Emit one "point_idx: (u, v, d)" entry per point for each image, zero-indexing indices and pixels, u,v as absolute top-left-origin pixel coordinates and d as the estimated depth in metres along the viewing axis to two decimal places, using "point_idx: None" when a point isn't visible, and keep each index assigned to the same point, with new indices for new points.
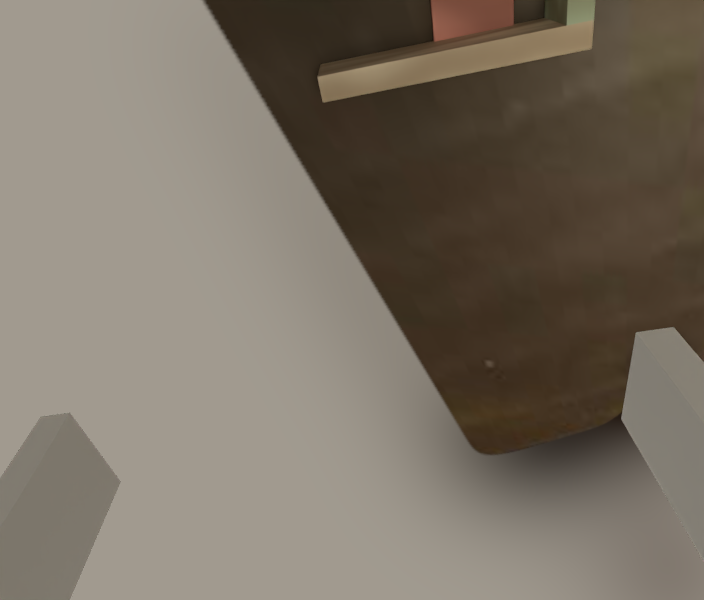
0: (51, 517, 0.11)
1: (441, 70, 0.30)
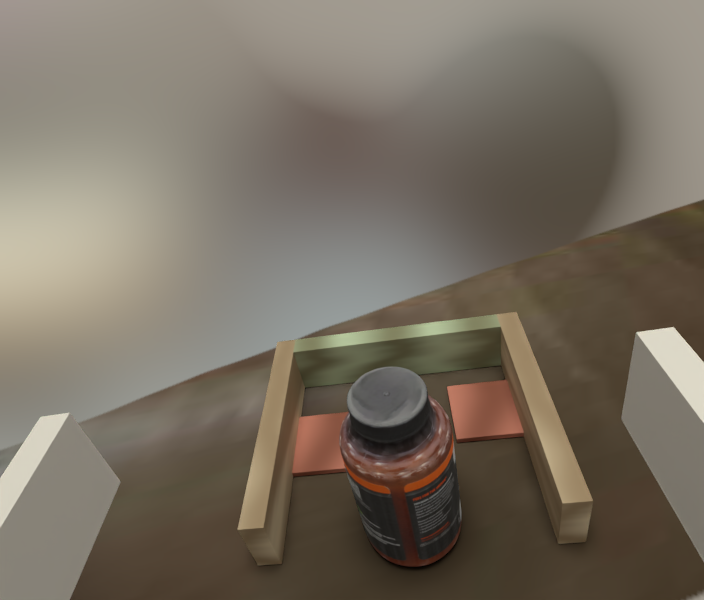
0: (51, 517, 0.11)
1: (542, 396, 0.32)
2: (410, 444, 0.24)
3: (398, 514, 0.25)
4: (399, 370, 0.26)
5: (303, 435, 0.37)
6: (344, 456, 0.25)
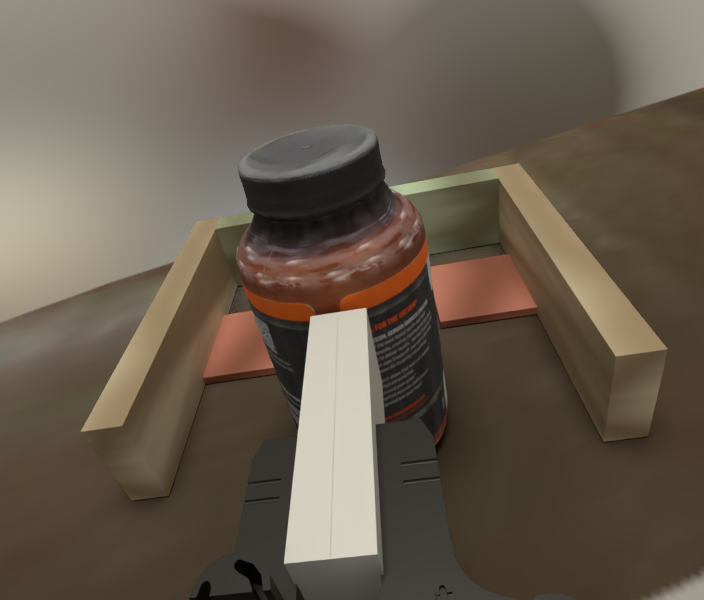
0: None
1: (565, 238, 0.21)
2: (349, 225, 0.13)
3: None
4: (333, 126, 0.15)
5: (225, 333, 0.26)
6: (240, 270, 0.15)
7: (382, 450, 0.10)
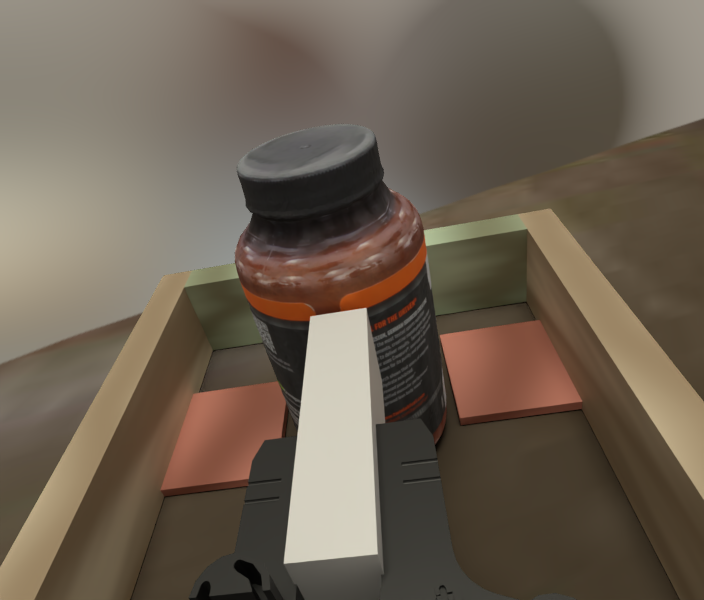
0: None
1: (625, 324, 0.16)
2: (348, 224, 0.13)
3: None
4: (330, 126, 0.15)
5: (193, 422, 0.21)
6: (239, 270, 0.15)
7: (382, 450, 0.10)
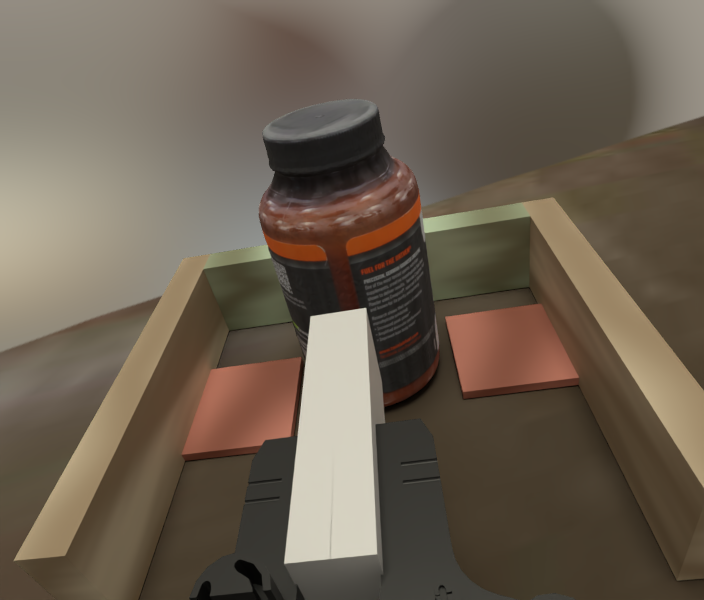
0: None
1: (619, 302, 0.17)
2: (354, 180, 0.16)
3: (343, 304, 0.17)
4: (341, 101, 0.18)
5: (211, 394, 0.23)
6: (263, 220, 0.17)
7: (382, 450, 0.10)
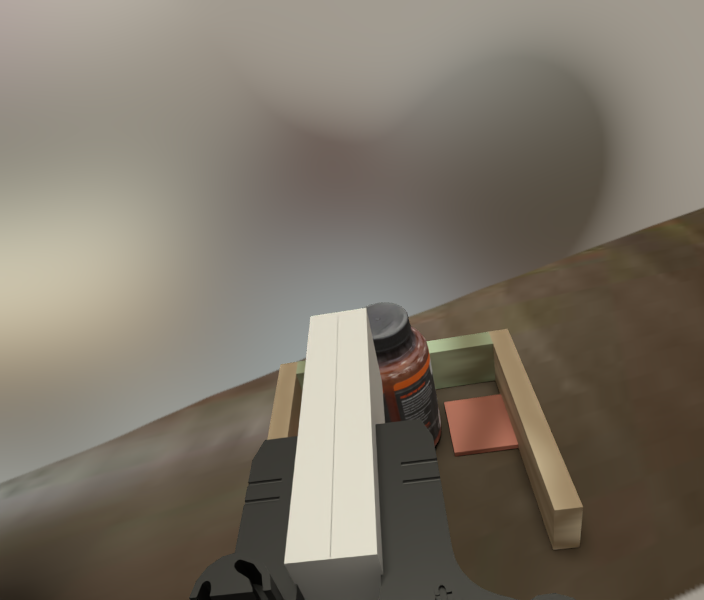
0: None
1: (533, 409, 0.34)
2: (397, 354, 0.32)
3: (390, 412, 0.34)
4: (387, 304, 0.34)
5: None
6: None
7: (382, 450, 0.10)
